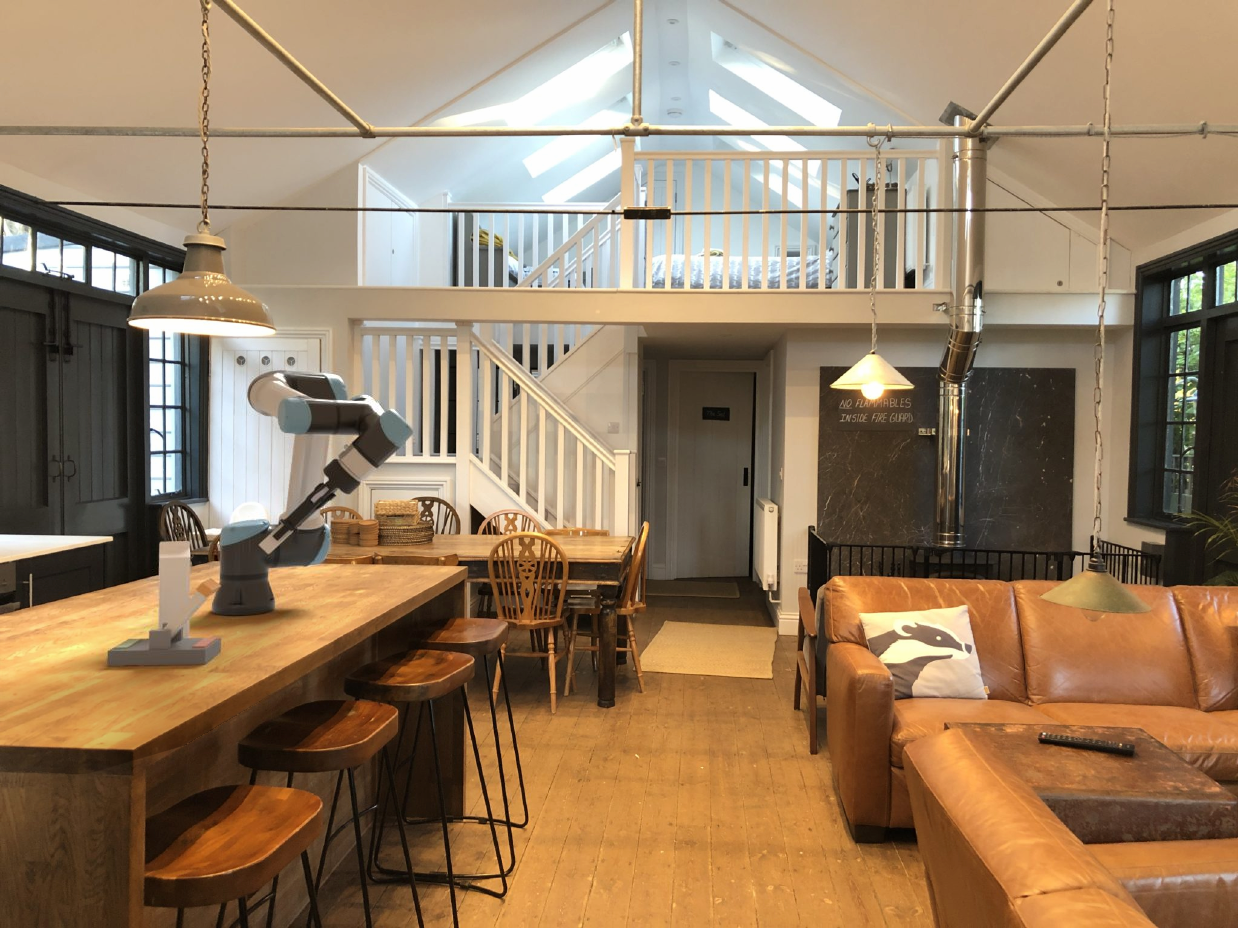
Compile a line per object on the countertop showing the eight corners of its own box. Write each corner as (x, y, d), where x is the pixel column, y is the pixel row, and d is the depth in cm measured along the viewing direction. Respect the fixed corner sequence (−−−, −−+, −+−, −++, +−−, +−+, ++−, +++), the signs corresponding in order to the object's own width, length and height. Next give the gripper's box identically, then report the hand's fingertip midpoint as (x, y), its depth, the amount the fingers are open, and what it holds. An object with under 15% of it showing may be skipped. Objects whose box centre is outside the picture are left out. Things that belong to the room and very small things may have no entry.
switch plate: (220, 651, 177) (221, 620, 177) (205, 664, 167) (205, 631, 167) (128, 653, 174) (129, 621, 174) (107, 665, 164) (107, 632, 164)
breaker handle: (172, 640, 173) (221, 585, 174) (162, 647, 168) (212, 590, 169) (162, 632, 173) (211, 577, 174) (151, 639, 167) (202, 582, 168)
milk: (189, 642, 185) (191, 542, 184) (158, 644, 182) (159, 543, 181) (188, 635, 190) (189, 539, 189) (157, 638, 187) (159, 540, 186)
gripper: (341, 456, 181) (259, 532, 179) (330, 457, 168) (241, 539, 166) (366, 481, 182) (285, 557, 180) (357, 484, 169) (269, 566, 167)
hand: (264, 548), depth 173 cm, fingers closed
